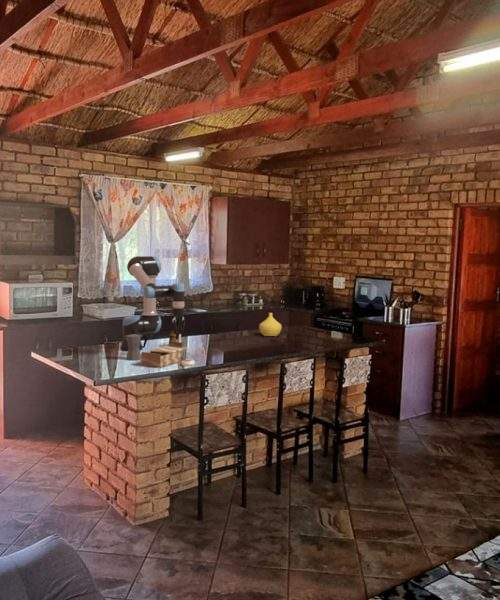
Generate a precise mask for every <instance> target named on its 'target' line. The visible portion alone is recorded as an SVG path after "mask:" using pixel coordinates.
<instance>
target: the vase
mask: <svg viewBox="0 0 500 600" xmlns="http://www.w3.org/2000/svg"><path fill="white" fill-rule="evenodd" d="M258 327H259V331H260V333H261V334H262V336H264V337H266V336H275V337H277V336H278V335H280V333H281V331H282V324H281V323H280V322H278V321H277V320H276V319H275V318H274V317H273V312H268V317H267V318H266V319H265V320H264V321H262V322H261V323H260V324H259V325H258Z"/></svg>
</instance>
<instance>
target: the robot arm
mask: <svg viewBox="0 0 500 600" xmlns="http://www.w3.org/2000/svg"><path fill="white" fill-rule="evenodd" d="M161 263H162V262H161V261H160V259H159V258H158V257H157V256H151V255H150V256H143V255H142V256H139V255H138V256H133V257H132V258H131V259H129V261H127V265H126V267H127V269H126V270H127V271H128V273H129V275H130V276H133V277H134V278H135V280H136V281H137V283H138V284H139V285H140V286H141V288H143V290H142V291H143V294H142V295H143V312H142V313H141V316H140V315H128V316H125V317H123V319H122V340H121V343H120V346H119V347H120V349H119V350H120V351H123V352H128V349H129V346H128V343H127V341H126V339H125V338H124V336H126V335H131V334H133V331H135V334H137V335H146V334H153V333H154V334H156V333H158V332H159V331H160V329H161V328H162V318H161V316H159V313H158V312H157V300H156V299H160V298H163V299H165V298H172V314H173V319H172V318H171V324H172V331H173V333H174V334H176V342H181V343H182V335H183V334H184V328H185V326H184V322H185V321H186V317H184V314H185V292H186V291H185V290H186V289H185V284H184V283H180V282H179V283H178V282H177V283H173V284H172V285H171V284H170V285H156V283H157V278H158V276H159V273H161V270H162V264H161ZM181 334H182V335H181ZM141 346H143V343H142V341H140V346H139V349H140V351H142V350H143V348H142V347H141Z"/></svg>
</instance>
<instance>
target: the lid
mask: <svg viewBox="0 0 500 600" xmlns="http://www.w3.org/2000/svg"><path fill="white" fill-rule="evenodd" d="M187 349H188V347H186V346H184V342H182V341H181V342H170V345H164V346H161V347H157V348H152V349H150V350H149V352H150V351H153V352H161V353H173V352H177V351H180V352H181V351H184V350H187Z"/></svg>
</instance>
